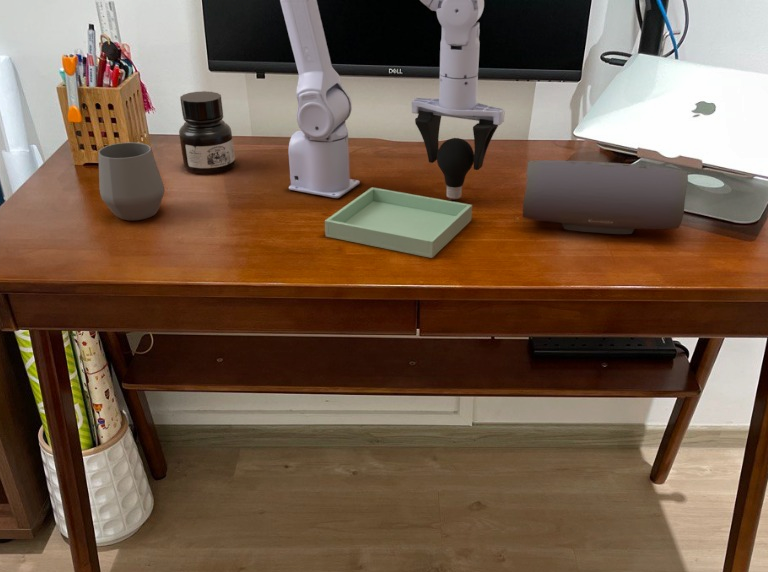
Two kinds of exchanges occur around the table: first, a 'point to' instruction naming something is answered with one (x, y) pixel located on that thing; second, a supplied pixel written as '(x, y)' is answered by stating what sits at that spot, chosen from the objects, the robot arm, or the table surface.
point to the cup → (130, 180)
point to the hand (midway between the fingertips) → (455, 164)
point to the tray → (399, 221)
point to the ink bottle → (205, 134)
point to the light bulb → (455, 164)
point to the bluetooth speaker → (604, 196)
